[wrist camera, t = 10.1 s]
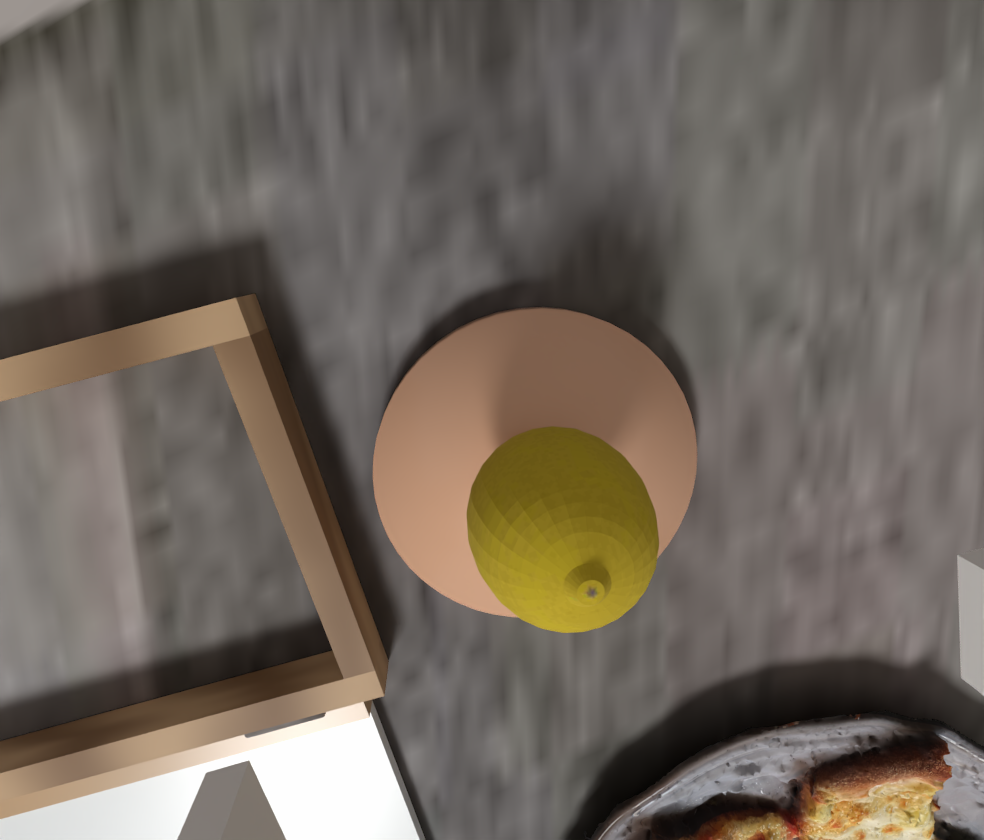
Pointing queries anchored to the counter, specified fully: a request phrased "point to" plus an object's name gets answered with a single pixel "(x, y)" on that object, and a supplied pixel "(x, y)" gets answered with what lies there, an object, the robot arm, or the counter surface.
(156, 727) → the wooden frame
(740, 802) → the food plate
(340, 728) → the lid
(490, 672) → the counter surface
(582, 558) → the lemon
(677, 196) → the counter surface
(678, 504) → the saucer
